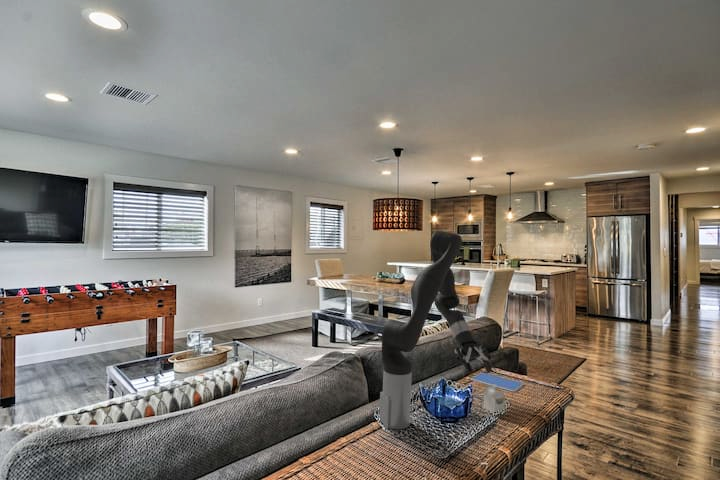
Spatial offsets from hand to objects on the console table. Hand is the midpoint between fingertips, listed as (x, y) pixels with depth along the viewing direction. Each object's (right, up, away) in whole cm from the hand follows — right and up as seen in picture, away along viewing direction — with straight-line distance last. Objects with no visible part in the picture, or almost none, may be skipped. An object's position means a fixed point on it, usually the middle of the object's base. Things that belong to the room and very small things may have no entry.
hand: (480, 372), depth 143 cm
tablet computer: (+14, -13, +23) cm, 30 cm away
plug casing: (+2, -12, -7) cm, 14 cm away
